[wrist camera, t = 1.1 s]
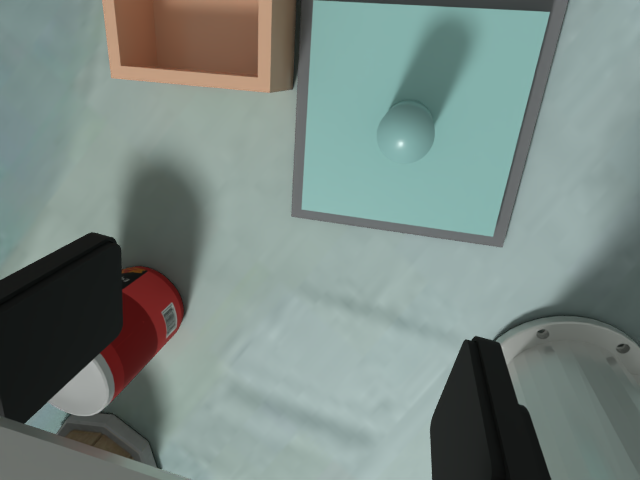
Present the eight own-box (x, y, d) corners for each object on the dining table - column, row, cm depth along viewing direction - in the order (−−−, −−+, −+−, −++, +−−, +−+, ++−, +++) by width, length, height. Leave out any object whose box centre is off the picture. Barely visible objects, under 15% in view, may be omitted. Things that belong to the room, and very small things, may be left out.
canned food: (143, 248, 38) (46, 310, 28) (202, 311, 39) (129, 392, 30) (100, 289, 41) (-2, 358, 31) (156, 347, 43) (75, 431, 33)
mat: (566, -4, 24) (569, -6, 24) (501, 244, 31) (502, 247, 30) (304, -15, 27) (302, -17, 27) (293, 214, 34) (291, 216, 33)
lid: (546, 13, 24) (580, -3, 19) (491, 232, 30) (506, 266, 25) (316, 2, 27) (290, -15, 22) (304, 206, 32) (281, 232, 27)
